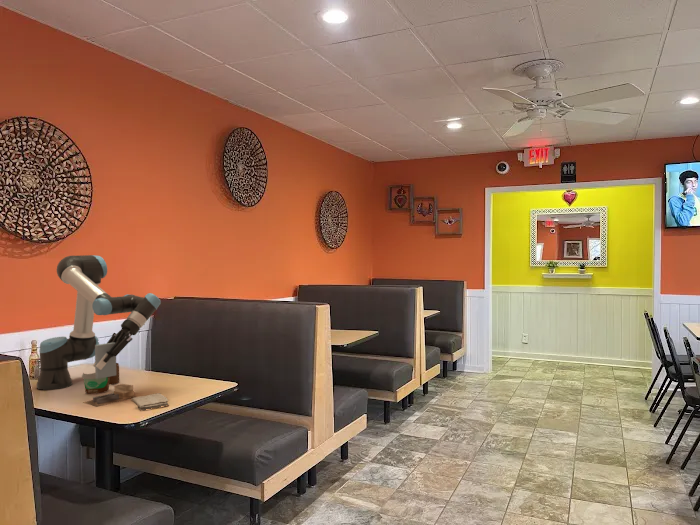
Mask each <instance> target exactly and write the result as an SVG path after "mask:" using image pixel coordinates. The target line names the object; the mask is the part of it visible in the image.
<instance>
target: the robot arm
mask: <svg viewBox="0 0 700 525" xmlns="http://www.w3.org/2000/svg"><path fill="white" fill-rule="evenodd" d="M56 274H57V277H58V278H59V280H60V281H62V282H63V283H64V284H65V285H70V286H71V288H73V289H75V290H76V301H75V311H74V321H73V322H74V323H73V330H71V332H70V333H69V337H68V338H67V336H55V337H50V338H46V339H44V340H42V341H41V342H40V344H39V351H38V352H39V367H40V369H39V370H40V372H39V375H38V378H37V382H36V389H37V388H38V389H37V390H39V389H43V390H42V391H48V390H57V389H58V390H59V389H65V388H68V387H70V386H72V385H73V379H72V378H71V374H70V371H69V367H68V366H69V365H68V363H72V362H77V361H83V360H88V359H92V358H95V345H99V344H100V342H99V338H98V337H97V336H96V333H95V332H94V331H93V327H94V317H95V316H94V315H96V316H108V315H115V314H127V313H129V314H128V316H127V317H126V319H125V320H123V321H122V323H121V324H120V328H121V329H120V330H119V331H118V332H117V333H115V332H113V333H112V335H111V337H110V338H109V340H108V341H107V342H106V343H113V342H114V343H115V344H114V346H113V347H112V348H111V350H110V351H109V352H107V353H108V354H107V353H106V354H105V355H104V357H103V358H102V359H101V360H100V361H99V362H98V364H97V365H96V367H97V368H98V369H100V370H101V369H102V368H103V367H104V366H105V365H106V363H107V362H108V361H109V360H110V359H111V357H113V356H116V357H117V356H118V354H120V353H121V352H122V351H123V349H124V348H125V347H126V346H127V345H128V344H129V343H130V342H131V341H133V338H132V336H136V335H137V333H138V332H139V331H140V330H141V328H142V327H143V326H145V323H147V321H148V320H150V318H151V316H152V315H153V314H154V313H155V312H156V311H157V310H158V308H159V306H160V305H161V303H162V302H161V301H162V300H161V298H159V297H158V296H157V295H156V294H154V293H152V292H151V293H150V292H149V293H146V295H144V296H143V297H142V296H139V295H135V294H125V295H122V296H111V294H109V293H108V292H106V291H105V290H104V289H102V288H101V287H100V286H99V285H100V284H102V279H104V278H105V277H106V276H107V274H108V265H107V262H106V261H105V259H104V258H103V256H100V255H94V254H93V255H92V254H90V255H89V254H88V255H87V254H86V255H84V254H83V255H82V254H81V255H68V256H65V257H63V258H62V259H60V261H59V262H58V264H57V266H56ZM92 366H93V367H94V368H95V362H94V363H93V364H92ZM67 386H68V387H67Z"/></svg>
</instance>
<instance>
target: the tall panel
mask: <svg viewBox="0 0 700 525" xmlns="http://www.w3.org/2000/svg"><path fill="white" fill-rule="evenodd" d="M114 344H115V343H114V342H113V343H107V342H106V343H99V345H95V356H94V359H95V360H94V363H95V367H94V368H95V369H94V370H95V372H94V373H95V375H96V379H100V378H105V377H110V376H115V375H116V363H117V356H113V357H111V359H110V360H109V361H108V362H107V363H106V365H105V366H104V367H103V368H102V369H101V370H100V369H98V368H97V367H96V365H97V364H98V362H99V361H100V360H101V359H102V358H103V357H104V355H105V354H106V353H107V352H109V351H110V350H111V348H112V347H113V346H114ZM107 354H108V353H107Z"/></svg>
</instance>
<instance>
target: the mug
mask: <svg viewBox="0 0 700 525" xmlns="http://www.w3.org/2000/svg"><path fill="white" fill-rule="evenodd" d="M118 383H120V364H119V362H116V375H115V376H110V380H109V386H110V384H111V385H117V384H118Z"/></svg>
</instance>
